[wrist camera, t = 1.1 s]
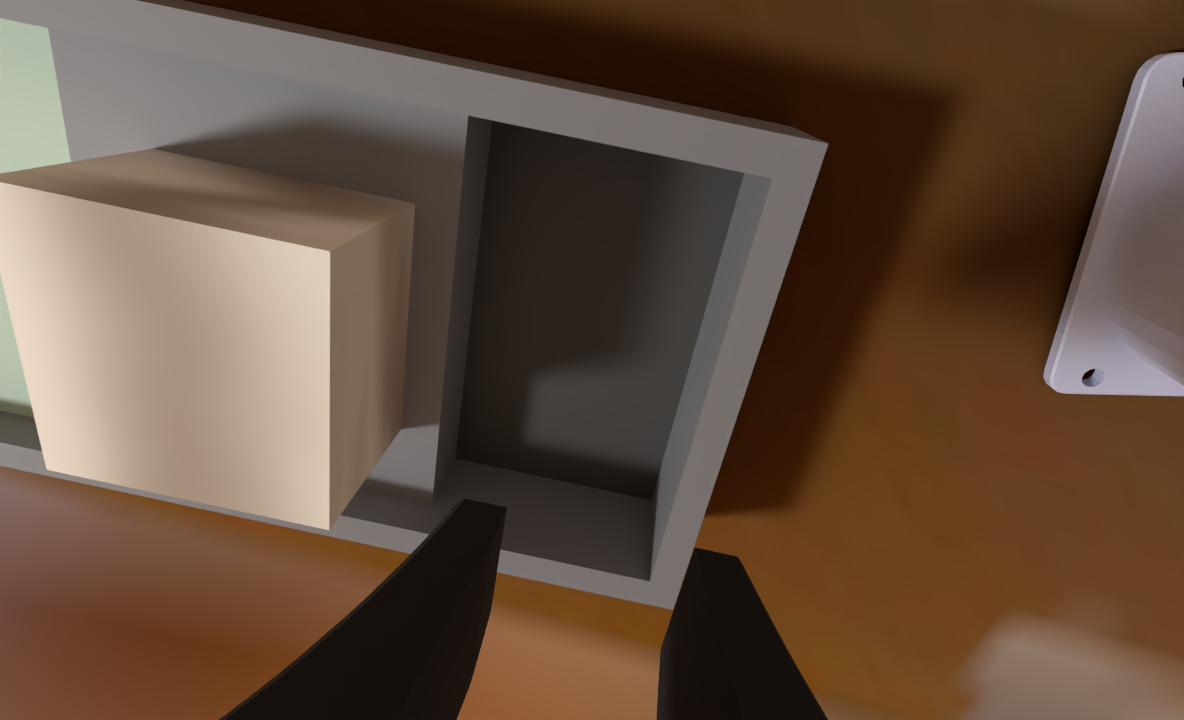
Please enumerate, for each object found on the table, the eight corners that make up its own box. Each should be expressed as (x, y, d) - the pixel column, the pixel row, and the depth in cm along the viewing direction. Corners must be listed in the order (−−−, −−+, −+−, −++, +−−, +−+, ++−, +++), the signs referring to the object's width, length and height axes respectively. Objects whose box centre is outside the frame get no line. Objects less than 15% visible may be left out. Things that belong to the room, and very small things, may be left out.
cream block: (415, 203, 14) (330, 251, 10) (401, 429, 17) (329, 529, 13) (152, 148, 14) (-23, 177, 10) (179, 382, 17) (46, 469, 13)
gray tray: (790, 125, 15) (828, 143, 12) (670, 519, 20) (672, 609, 17) (-434, -128, 15) (-742, -182, 12) (-241, 325, 20) (-417, 376, 17)
